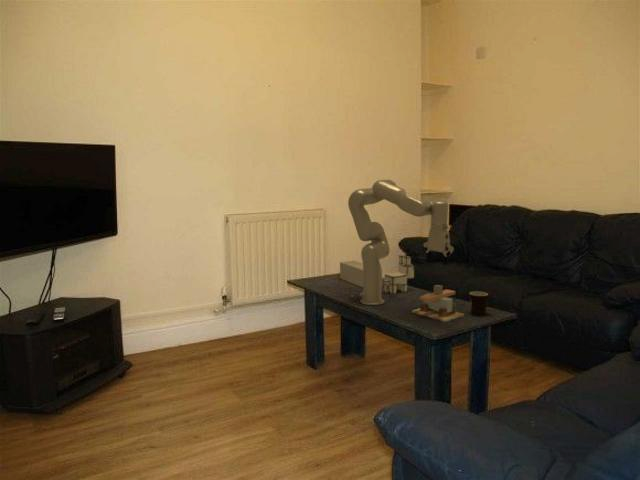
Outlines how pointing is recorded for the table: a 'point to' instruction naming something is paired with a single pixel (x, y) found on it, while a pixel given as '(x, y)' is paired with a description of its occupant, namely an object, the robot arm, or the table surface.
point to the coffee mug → (478, 303)
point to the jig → (438, 313)
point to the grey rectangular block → (353, 272)
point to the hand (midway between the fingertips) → (437, 262)
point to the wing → (437, 294)
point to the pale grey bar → (440, 304)
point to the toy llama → (399, 276)
